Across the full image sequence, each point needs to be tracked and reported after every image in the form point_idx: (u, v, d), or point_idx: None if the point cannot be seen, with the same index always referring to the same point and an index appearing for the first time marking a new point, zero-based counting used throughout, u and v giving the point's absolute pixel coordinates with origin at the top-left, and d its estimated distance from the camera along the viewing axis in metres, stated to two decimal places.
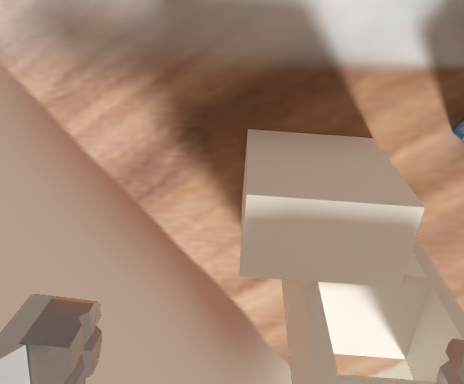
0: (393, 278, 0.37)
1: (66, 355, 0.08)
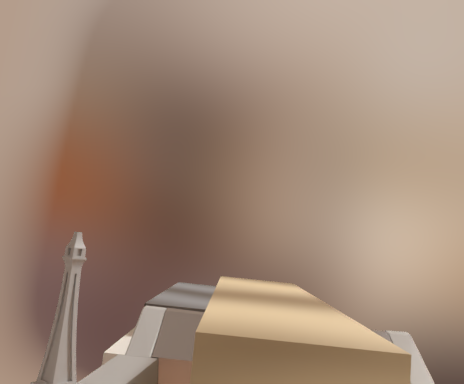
0: None
1: None
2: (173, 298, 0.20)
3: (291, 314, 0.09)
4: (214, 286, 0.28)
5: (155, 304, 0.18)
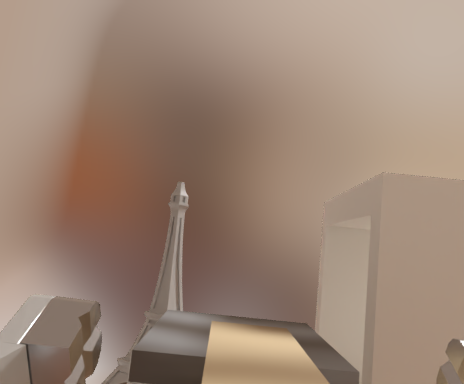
0: None
1: (66, 355, 0.08)
2: (162, 338, 0.19)
3: None
4: (204, 314, 0.28)
5: (143, 350, 0.17)
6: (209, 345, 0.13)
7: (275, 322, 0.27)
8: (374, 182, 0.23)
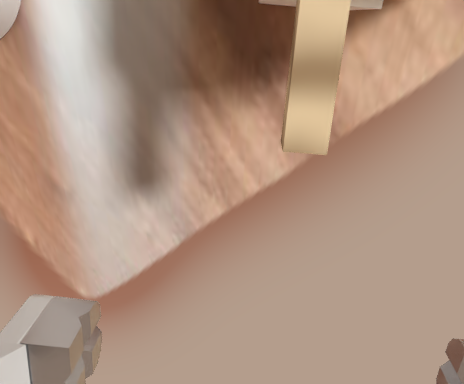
0: None
1: (66, 355, 0.08)
2: None
3: (313, 113, 0.28)
4: None
5: None
6: (297, 32, 0.27)
7: None
8: None
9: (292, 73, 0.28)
